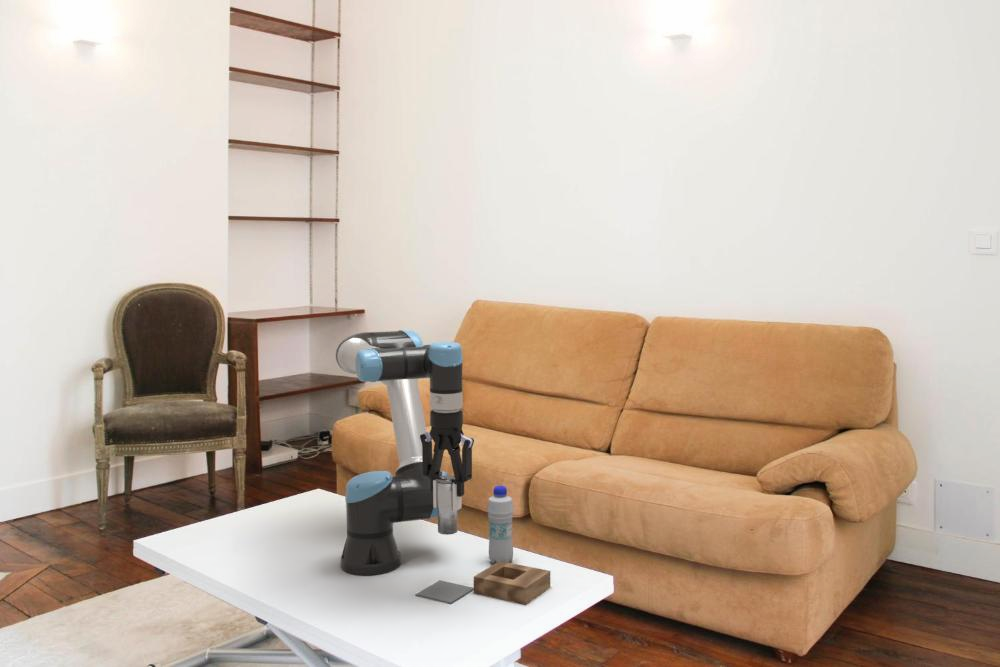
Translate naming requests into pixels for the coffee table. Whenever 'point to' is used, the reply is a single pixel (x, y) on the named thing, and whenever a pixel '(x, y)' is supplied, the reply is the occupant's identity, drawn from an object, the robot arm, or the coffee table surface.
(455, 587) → the mat
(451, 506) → the shiny metal cylinder
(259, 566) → the coffee table surface
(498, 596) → the housing
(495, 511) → the bottle
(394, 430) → the robot arm
